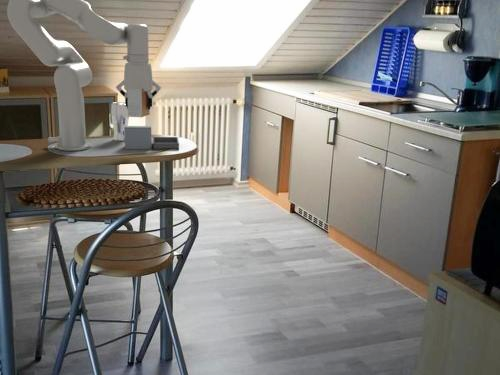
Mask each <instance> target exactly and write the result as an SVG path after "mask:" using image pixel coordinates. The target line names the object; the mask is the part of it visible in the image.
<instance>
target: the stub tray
mask: <svg viewBox="0 0 500 375" xmlns="http://www.w3.org/2000/svg"><path fill="white" fill-rule="evenodd" d="M152 150H154V151H155V150H165V151H166V150H180V142H179V137H178V136H153V137H152Z"/></svg>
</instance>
